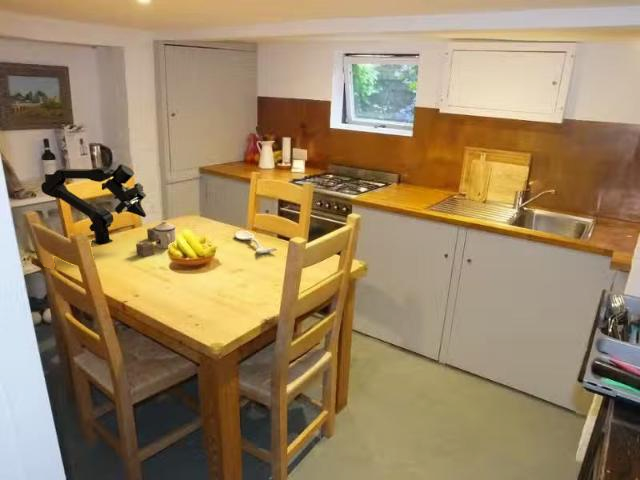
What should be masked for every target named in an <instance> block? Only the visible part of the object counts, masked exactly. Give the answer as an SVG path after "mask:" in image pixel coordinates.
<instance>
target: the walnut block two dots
mask: <svg viewBox="0 0 640 480" xmlns="http://www.w3.org/2000/svg"><path fill="white" fill-rule="evenodd" d="M135 248H136V255H137V256H138V257H141V258H144V259H145V258H149V257H151V256H154V255H155V245H154V243H152V242H149V241H147V240H146V241H142V242H139V243H136V244H135Z"/></svg>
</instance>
